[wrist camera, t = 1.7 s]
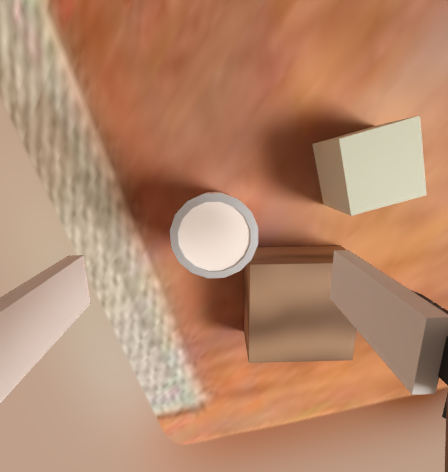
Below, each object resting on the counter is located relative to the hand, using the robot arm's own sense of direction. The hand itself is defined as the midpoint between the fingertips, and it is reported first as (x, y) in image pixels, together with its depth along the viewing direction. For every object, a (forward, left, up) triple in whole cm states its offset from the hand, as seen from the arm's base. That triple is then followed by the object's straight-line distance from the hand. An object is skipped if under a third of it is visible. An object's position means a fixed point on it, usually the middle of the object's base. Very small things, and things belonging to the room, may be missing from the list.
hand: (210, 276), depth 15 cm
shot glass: (0, 0, -14) cm, 14 cm away
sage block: (-5, +13, -14) cm, 20 cm away
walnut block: (+8, +8, -14) cm, 18 cm away
